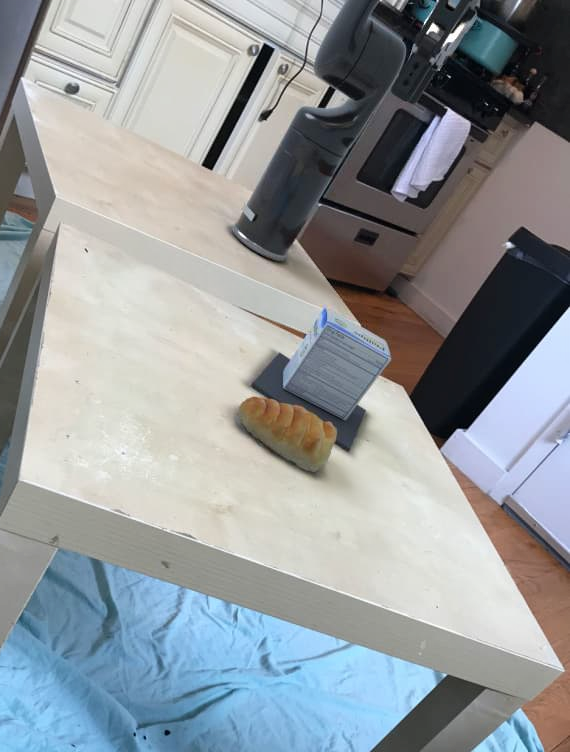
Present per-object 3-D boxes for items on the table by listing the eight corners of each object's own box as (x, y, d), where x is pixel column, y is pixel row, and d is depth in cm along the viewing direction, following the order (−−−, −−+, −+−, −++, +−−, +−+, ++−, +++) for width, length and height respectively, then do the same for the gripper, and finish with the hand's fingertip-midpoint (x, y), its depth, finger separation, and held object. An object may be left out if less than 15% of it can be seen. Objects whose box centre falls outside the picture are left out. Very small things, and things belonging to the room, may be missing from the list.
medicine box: (341, 403, 83) (387, 340, 79) (345, 423, 80) (393, 358, 75) (281, 371, 82) (324, 305, 77) (281, 389, 78) (327, 321, 74)
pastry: (231, 433, 66) (252, 400, 64) (235, 400, 72) (255, 368, 70) (321, 480, 68) (344, 449, 66) (318, 444, 74) (340, 414, 72)
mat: (277, 355, 86) (279, 352, 86) (364, 413, 86) (366, 410, 86) (250, 385, 76) (252, 382, 76) (348, 452, 76) (350, 449, 75)
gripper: (545, -66, 64) (427, 118, 72) (535, -36, 76) (435, 119, 85) (472, -113, 64) (363, 75, 73) (473, -75, 76) (380, 83, 85)
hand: (402, 99), depth 79 cm, fingers open, 8 cm apart
